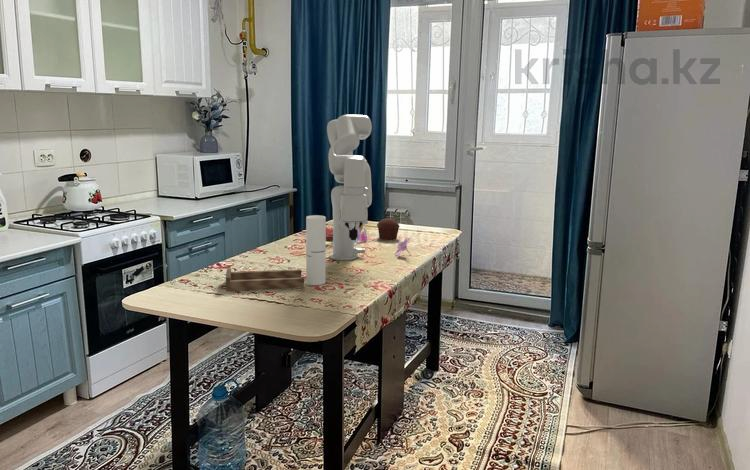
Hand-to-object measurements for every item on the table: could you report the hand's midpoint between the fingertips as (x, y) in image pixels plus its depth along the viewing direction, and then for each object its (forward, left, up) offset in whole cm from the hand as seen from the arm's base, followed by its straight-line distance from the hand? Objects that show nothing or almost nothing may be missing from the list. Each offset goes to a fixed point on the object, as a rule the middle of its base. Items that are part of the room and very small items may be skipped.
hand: (353, 239), depth 212 cm
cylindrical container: (+14, 0, -16) cm, 22 cm away
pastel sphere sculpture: (-7, -65, -17) cm, 67 cm away
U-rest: (+32, 0, -16) cm, 36 cm away
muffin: (-30, -67, -16) cm, 75 cm away
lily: (-29, -33, -16) cm, 47 cm away
